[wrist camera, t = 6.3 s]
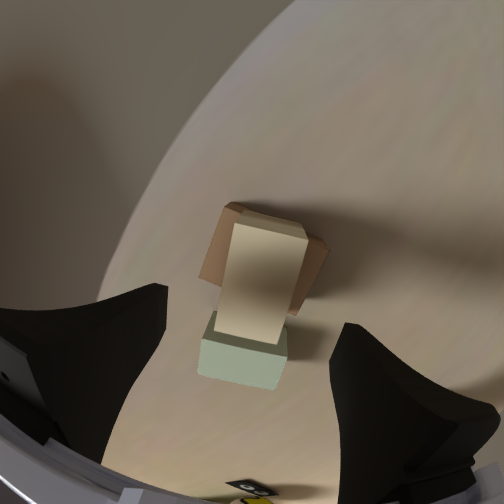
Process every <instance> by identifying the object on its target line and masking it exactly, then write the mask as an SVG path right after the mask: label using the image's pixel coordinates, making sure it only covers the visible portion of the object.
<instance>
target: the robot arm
mask: <svg viewBox="0 0 504 504" xmlns="http://www.w3.org/2000/svg"><path fill="white" fill-rule="evenodd" d="M167 300H168V286H165V285H161V284H157V283H152V284H148V285H145V286H143V287H140V288H137V289H134V290H132V291H129V292H126V293H124V294H121V295H118V296H115V297H112V298H109V299H105V300H102V301H99V302H96V303H92V304H88V305H83V306H78V307H73V308H64V309H56V310H42V311H41V310H39V311H34V310H30V311H28V310H14V309H4V308H0V480H1V481H2V482H3V483H5V484H6V485H7V486H8V487H9V488H10V489H12V490H13V491H14V492H15V493H16V494H18V495H19V496H20V497H22V498H23V499H24V500H26V501H27V502H28V503H29V504H222V503H217V502H212V501H207V500H202V499H198V498H193V497H189V496H185V495H182V494H178V493H174V492H171V491H167V490H164V489H161V488H158V487H155V486H152V485H149V484H146V483H143V482H140V481H138V480H135V479H132V478H130V477H127V476H125V475H122V474H120V473H118V472H115V471H113V470H111V469H108V468H106V467H104V466H102V465H101V462H102V459H103V455H104V452H105V449H106V446H107V443H108V440H109V438H110V435H111V432H112V429H113V427H114V424H115V422H116V420H117V417H118V415H119V412H120V410H121V408H122V406H123V403H124V401H125V399H126V397H127V395H128V393H129V391H130V389H131V387H132V386H133V384H134V382H135V381H136V379H137V378H138V376H139V375H140V373H141V371H142V370H143V368H144V367H145V365H146V364H147V362H148V361H149V359H150V358H151V356H152V355H153V353H154V352H155V350H156V348H157V347H158V345H159V343H160V341H161V339H162V336H163V334H164V332H165V330H166V319H167ZM329 370H330V383H331V388H332V393H333V398H334V403H335V408H336V413H337V418H338V423H339V431H340V449H341V466H340V485H339V496H338V504H504V475H503V473H502V471H501V469H500V466H499V464H498V462H496V461H495V462H493V463H491V464H488V465H486V466H484V467H482V468H479V469H478V470H475V468H474V464H475V460H474V458H473V455H474V454H475V453H476V452H477V451H478V450H479V449H480V448H481V447H482V446H483V445H484V444H485V443H486V442H487V441H488V440H489V439H490V438H491V436H492V435H493V434H494V433H495V431H496V430H497V428H498V426H499V424H500V421H501V418H500V415H499V414H498V412H497V411H496V409H495V407H494V406H493V405H491V404H489V403H485V402H481V401H478V400H474V399H471V398H468V397H465V396H462V395H460V394H457V393H455V392H453V391H450V390H448V389H446V388H444V387H442V386H440V385H438V384H436V383H434V382H433V381H431V380H429V379H427V378H426V377H424V376H423V375H421V374H420V373H418V372H417V371H415V370H414V369H412V368H411V367H410V366H408V365H407V364H406V363H404V362H403V361H402V360H401V359H399V358H398V357H397V356H396V355H394V354H393V353H392V352H391V351H390V350H388V349H387V348H386V347H385V346H384V345H383V344H382V343H381V342H379V341H378V340H377V339H376V338H375V337H374V336H373V335H372V334H370V333H369V332H368V331H367V330H366V329H364V328H363V327H362V326H360V325H359V324H353V323H346V322H345V324H344V327H343V329H342V332H341V334H340V337H339V339H338V341H337V344H336V346H335V349H334V351H333V353H332V356H331V358H330V360H329Z"/></svg>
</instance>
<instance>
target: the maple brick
mask: <svg viewBox="0 0 504 504" xmlns="http://www.w3.org/2000/svg"><path fill="white" fill-rule="evenodd" d="M308 241H309V240H308V238H307V235H306V233H305V231H304V229H303V227H302V224H301V223H298V222H294V221H290V220H285V219H281V218H277V217H273V216H268V215H264V214H260V213H255V212H251V211H247V210H244V211H243V212H242V213H241V215H240V216H239V218H238V219H237V220H236V222H235V223H234V228H233V233H232V238H231V243H230V248H229V253H228V258H227V263H226V268H225V274H224V279H223V284H222V289H221V294H220V300H219V305H218V310H217V316H216V321H215V327H214V331H218V332H222V333H226V334H230V335H234V336H239V337H243V338H247V339H252V340H257V341H261V342H266V343H271V344H276V345H277V343H278V340H279V337H280V334H281V330H282V327H283V324H284V321H285V318H286V315H287V312H288V309H289V305H290V302H291V299H292V296H293V292H294V289H295V286H296V283H297V279H298V276H299V272H300V269H301V266H302V262H303V259H304V255H305V252H306V248H307V244H308Z"/></svg>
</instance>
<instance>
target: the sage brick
mask: <svg viewBox="0 0 504 504" xmlns="http://www.w3.org/2000/svg"><path fill="white" fill-rule="evenodd" d="M216 316H217V312H214V311H213V313H212V316H211V318H210V320H209V323H208V325H207V328H206V330H205V332H204V335H203V337H202V342H201V349H200V356H199V363H198V371H197V374H200V375H204V376H208V377H212V378H216V379H220V380H225V381H229V382H234V383H238V384H243V385H248V386H253V387H258V388H264V389H269V390H275V389H276V386H277V384H278V381H279V379H280V376H281V374H282V371H283V368H284V366H285V363H286V360H287V358H288V351H287V328H286V327H282V330H281V334H280V337H279V340H278V343H277V345H276V344H271V343H266V342H261V341H257V340H252V339H247V338H243V337H239V336H234V335H230V334H226V333H222V332H218V331H214V327H215V321H216Z"/></svg>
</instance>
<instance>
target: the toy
mask: <svg viewBox="0 0 504 504" xmlns="http://www.w3.org/2000/svg"><path fill="white" fill-rule="evenodd" d="M226 484H229V485H231V486H234V487H236V488H239V489H241V490H244V491H246V492H249V493H252V494H255V495H258V496H260V497H258V496H244V497H240V498H238V499H236V500H234V501H232V502H231V503H230V504H273V503H272V502H270V501H269V500H267V499H265V498H262V497H263V496H275V495H279V494H276V493H273V492H270V491H268V490H265V489H263V488H260V487H257V486H255V485H253V484H250V483H248V482H245V481H243V482H229V483H226Z"/></svg>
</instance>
